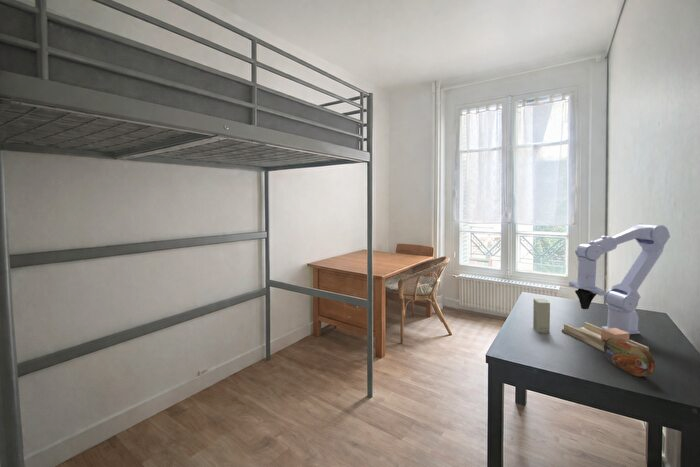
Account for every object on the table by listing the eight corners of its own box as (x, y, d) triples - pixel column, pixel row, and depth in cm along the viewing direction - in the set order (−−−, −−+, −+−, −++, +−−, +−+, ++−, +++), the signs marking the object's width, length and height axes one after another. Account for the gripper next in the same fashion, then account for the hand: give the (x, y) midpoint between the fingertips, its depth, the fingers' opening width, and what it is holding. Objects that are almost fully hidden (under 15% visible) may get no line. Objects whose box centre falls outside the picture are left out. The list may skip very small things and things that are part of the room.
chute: (587, 329, 135) (588, 321, 135) (650, 355, 112) (651, 346, 111) (561, 331, 133) (562, 323, 133) (619, 358, 110) (620, 349, 109)
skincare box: (549, 333, 132) (551, 303, 130) (537, 332, 132) (538, 302, 131) (543, 327, 138) (545, 298, 137) (532, 326, 139) (533, 298, 138)
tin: (602, 358, 111) (603, 333, 110) (611, 357, 111) (612, 333, 110) (646, 382, 96) (648, 354, 95) (656, 381, 96) (658, 353, 95)
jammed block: (614, 341, 121) (615, 327, 120) (628, 347, 116) (629, 333, 115) (600, 342, 120) (601, 329, 119) (613, 348, 115) (614, 334, 114)
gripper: (562, 271, 137) (561, 303, 138) (594, 279, 123) (592, 315, 124) (577, 270, 138) (576, 302, 139) (610, 278, 124) (608, 314, 125)
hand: (584, 308), depth 132 cm, fingers closed
